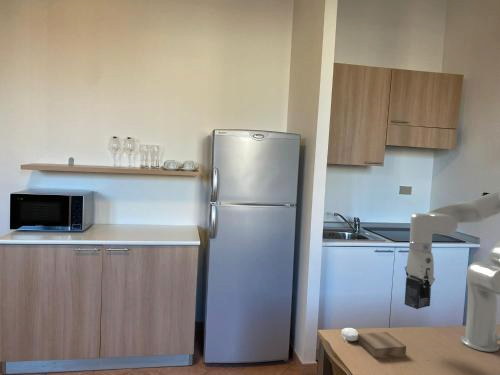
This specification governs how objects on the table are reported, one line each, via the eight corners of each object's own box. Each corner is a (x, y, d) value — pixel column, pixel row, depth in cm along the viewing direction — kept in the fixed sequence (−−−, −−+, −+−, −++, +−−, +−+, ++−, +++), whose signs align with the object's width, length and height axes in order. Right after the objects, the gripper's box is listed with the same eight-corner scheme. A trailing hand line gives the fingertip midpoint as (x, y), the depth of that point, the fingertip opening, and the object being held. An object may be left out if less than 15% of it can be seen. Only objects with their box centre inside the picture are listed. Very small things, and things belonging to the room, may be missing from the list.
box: (417, 309, 137) (419, 280, 136) (404, 304, 142) (405, 276, 141) (430, 306, 141) (432, 278, 141) (416, 301, 146) (418, 274, 145)
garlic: (363, 343, 142) (364, 333, 142) (346, 344, 141) (347, 334, 141) (354, 334, 150) (355, 325, 150) (338, 335, 149) (338, 325, 149)
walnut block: (386, 342, 145) (386, 331, 145) (405, 357, 133) (406, 346, 133) (357, 344, 142) (358, 333, 142) (374, 360, 131) (375, 348, 130)
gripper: (445, 252, 133) (442, 301, 133) (415, 242, 150) (412, 286, 150) (426, 252, 131) (423, 302, 132) (397, 242, 148) (395, 287, 149)
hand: (417, 293), depth 141 cm, fingers closed on box, 7 cm apart
